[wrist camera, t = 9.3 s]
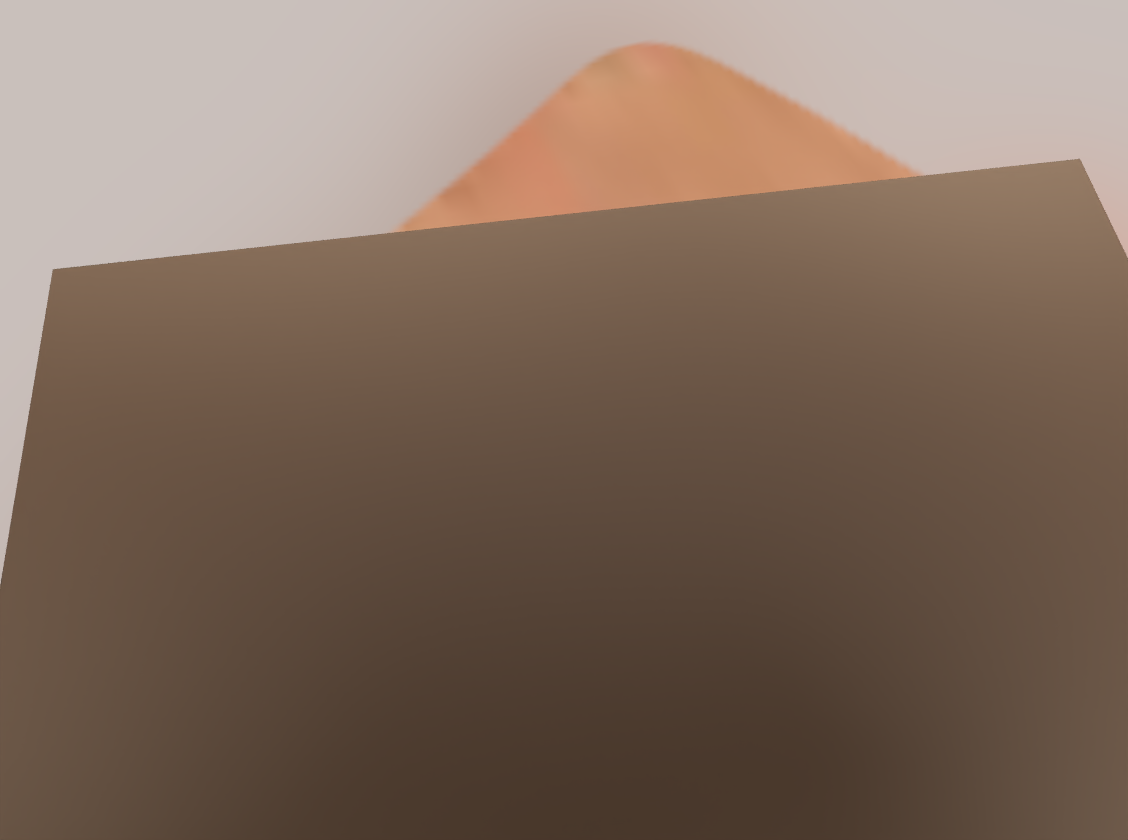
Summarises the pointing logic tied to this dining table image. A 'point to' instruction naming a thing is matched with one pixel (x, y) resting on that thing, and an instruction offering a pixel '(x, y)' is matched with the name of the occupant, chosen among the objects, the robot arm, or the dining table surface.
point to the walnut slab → (587, 529)
